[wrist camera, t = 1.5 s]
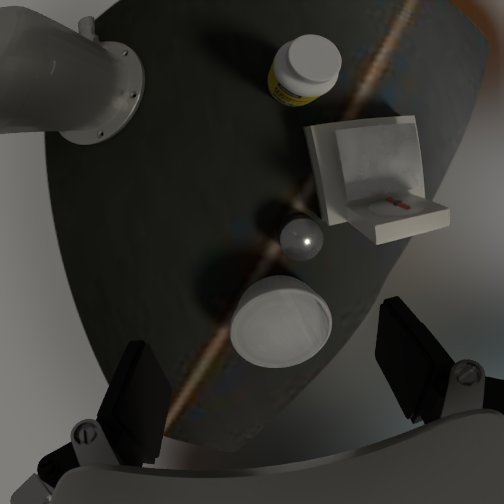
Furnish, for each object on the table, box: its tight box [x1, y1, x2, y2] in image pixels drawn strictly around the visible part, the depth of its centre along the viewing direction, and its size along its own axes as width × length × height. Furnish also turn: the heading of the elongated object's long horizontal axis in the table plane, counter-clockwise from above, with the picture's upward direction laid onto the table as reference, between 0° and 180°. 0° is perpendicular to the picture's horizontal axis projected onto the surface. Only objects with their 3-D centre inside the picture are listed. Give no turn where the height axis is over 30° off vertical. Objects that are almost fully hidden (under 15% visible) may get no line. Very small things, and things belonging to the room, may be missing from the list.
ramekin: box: [230, 275, 332, 368], centre depth 32 cm, size 11×11×5 cm
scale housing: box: [303, 116, 450, 245], centre depth 23 cm, size 10×12×10 cm
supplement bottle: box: [267, 35, 341, 106], centre depth 20 cm, size 5×5×10 cm
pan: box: [332, 123, 423, 201], centre depth 24 cm, size 7×9×2 cm
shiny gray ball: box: [277, 213, 323, 261], centre depth 29 cm, size 4×4×3 cm
